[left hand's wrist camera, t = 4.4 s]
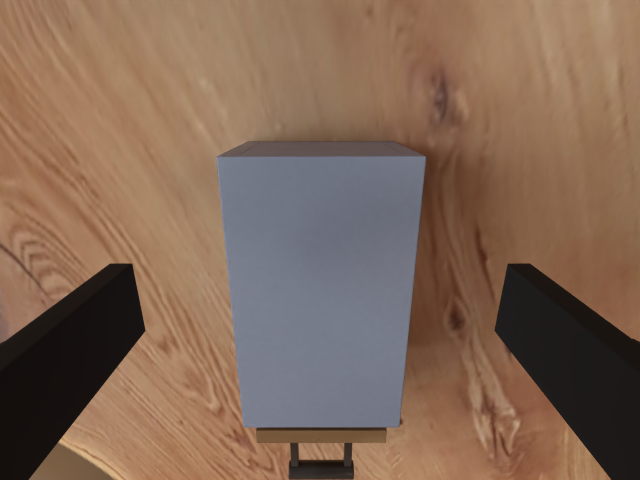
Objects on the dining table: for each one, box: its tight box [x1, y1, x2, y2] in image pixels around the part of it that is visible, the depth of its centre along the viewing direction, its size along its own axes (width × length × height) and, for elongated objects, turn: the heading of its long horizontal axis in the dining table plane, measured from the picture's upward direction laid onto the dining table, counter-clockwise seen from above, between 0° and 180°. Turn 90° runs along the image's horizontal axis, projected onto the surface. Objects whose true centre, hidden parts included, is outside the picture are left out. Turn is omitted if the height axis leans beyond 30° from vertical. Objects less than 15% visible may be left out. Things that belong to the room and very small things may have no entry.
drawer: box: [256, 427, 387, 480], centre depth 27 cm, size 23×9×6 cm, turn 0°
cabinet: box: [217, 142, 426, 427], centre depth 25 cm, size 18×11×8 cm, turn 0°
